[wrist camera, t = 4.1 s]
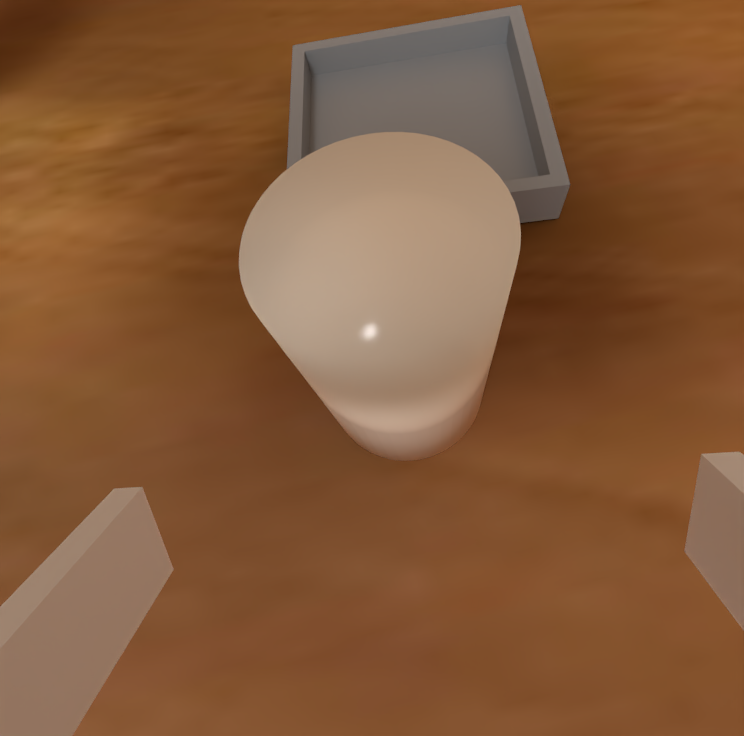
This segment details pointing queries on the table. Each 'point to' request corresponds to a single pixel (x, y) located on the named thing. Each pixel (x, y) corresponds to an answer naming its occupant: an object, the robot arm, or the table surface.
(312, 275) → the white pitcher
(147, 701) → the table surface
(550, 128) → the slate tray
